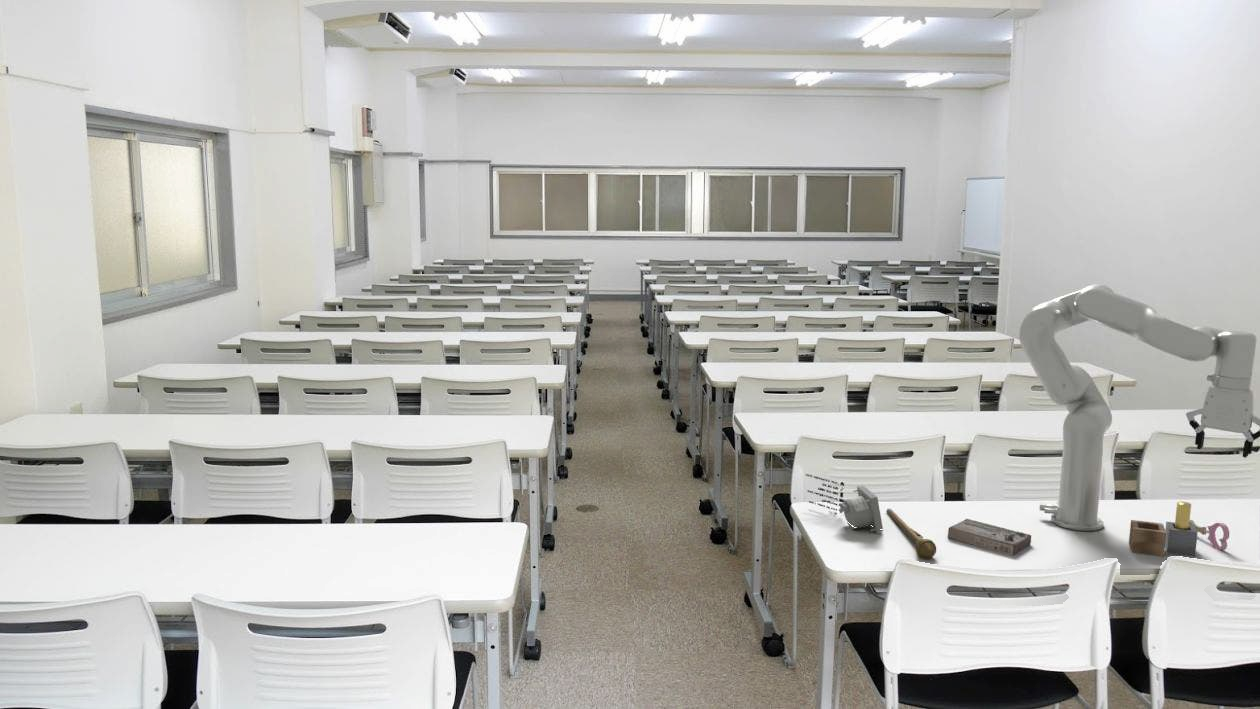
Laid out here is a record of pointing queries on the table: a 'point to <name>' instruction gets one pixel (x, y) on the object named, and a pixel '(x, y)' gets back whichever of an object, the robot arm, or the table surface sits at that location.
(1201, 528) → the decorative key
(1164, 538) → the brown open box
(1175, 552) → the socket block
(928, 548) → the brown rod with knob
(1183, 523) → the brass bar
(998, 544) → the box
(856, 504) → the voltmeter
